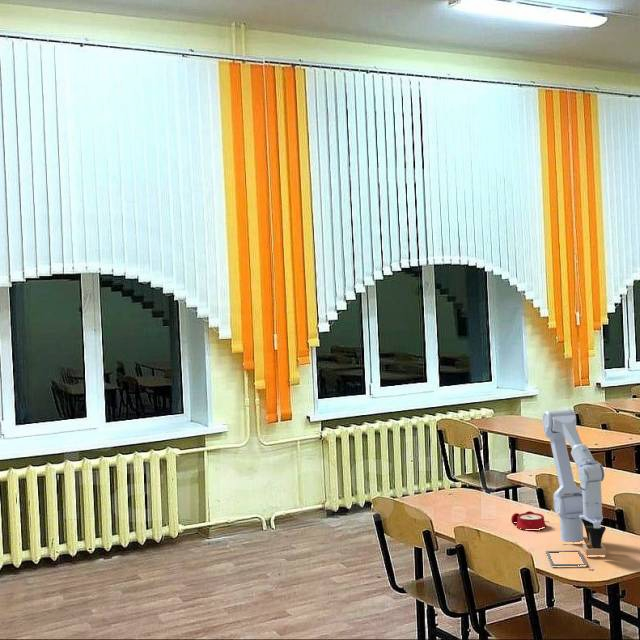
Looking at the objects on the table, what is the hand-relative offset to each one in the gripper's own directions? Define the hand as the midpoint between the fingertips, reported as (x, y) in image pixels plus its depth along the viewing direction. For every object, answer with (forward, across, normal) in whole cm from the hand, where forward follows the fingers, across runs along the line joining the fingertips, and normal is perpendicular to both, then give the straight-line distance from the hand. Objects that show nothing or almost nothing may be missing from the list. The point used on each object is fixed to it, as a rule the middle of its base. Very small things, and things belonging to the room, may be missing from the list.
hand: (594, 544), depth 269 cm
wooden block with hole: (+4, 0, 0) cm, 4 cm away
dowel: (+3, 0, 0) cm, 3 cm away
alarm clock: (+4, -34, -16) cm, 38 cm away
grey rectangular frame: (+4, +5, -10) cm, 11 cm away
